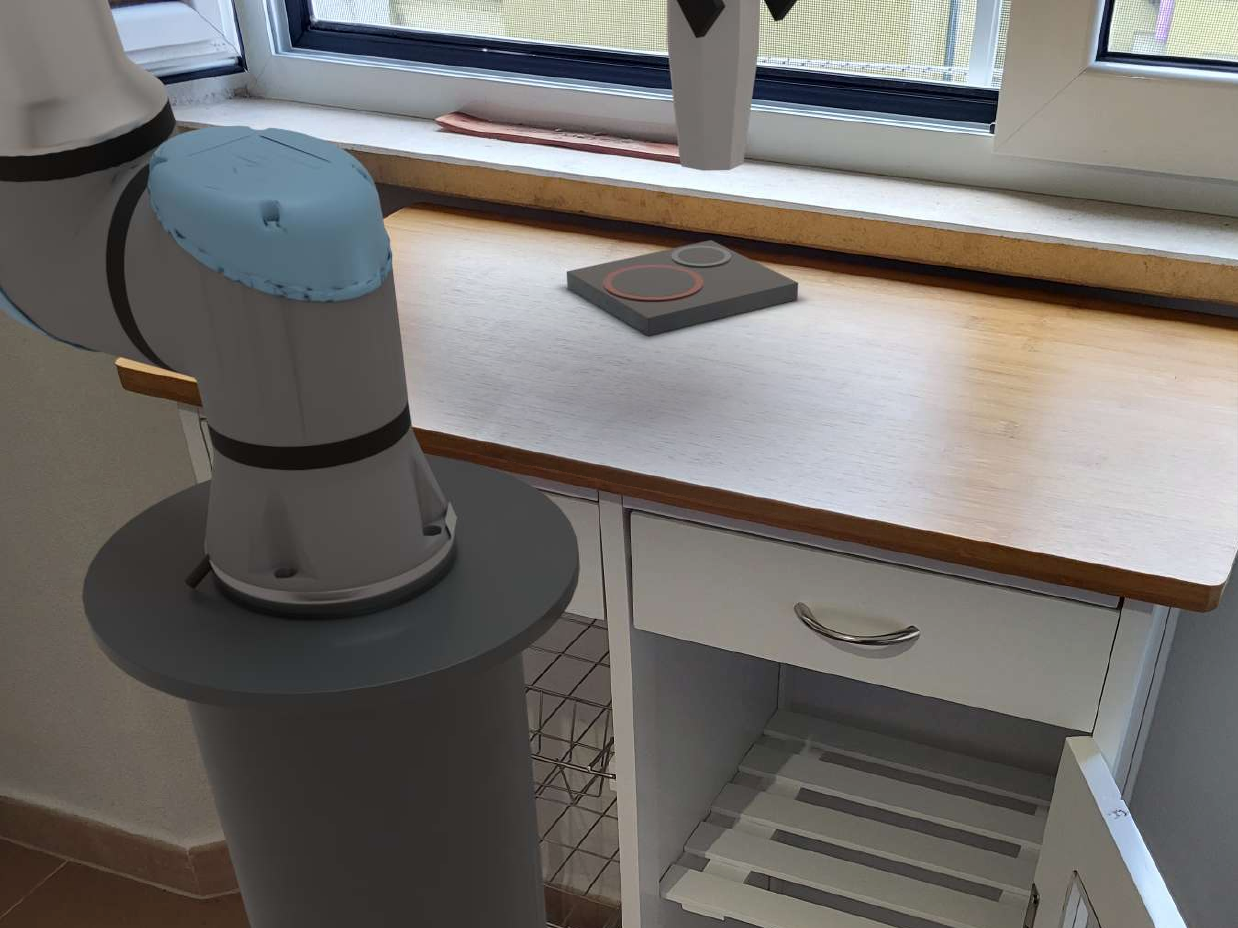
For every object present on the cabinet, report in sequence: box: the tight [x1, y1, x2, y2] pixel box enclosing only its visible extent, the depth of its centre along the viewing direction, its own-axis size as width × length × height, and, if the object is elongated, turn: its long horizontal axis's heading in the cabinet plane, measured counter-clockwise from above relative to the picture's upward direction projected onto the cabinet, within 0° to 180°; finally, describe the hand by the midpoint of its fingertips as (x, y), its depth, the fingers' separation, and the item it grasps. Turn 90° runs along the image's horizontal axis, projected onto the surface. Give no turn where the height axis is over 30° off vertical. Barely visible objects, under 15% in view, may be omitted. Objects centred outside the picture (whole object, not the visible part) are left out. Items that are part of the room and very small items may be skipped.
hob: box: [566, 239, 799, 337], centre depth 128 cm, size 16×14×2 cm
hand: (750, 14), depth 92 cm, fingers closed on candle, 7 cm apart
